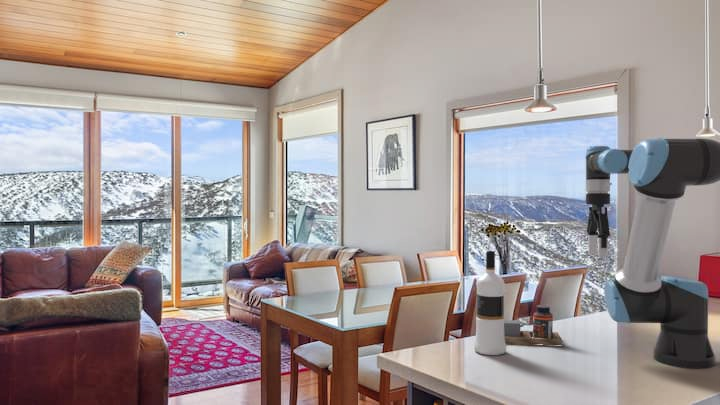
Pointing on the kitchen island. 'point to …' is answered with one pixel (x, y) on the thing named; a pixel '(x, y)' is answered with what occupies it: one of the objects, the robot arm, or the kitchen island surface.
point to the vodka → (490, 311)
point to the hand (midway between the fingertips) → (597, 256)
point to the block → (512, 328)
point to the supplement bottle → (542, 322)
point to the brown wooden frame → (533, 339)
